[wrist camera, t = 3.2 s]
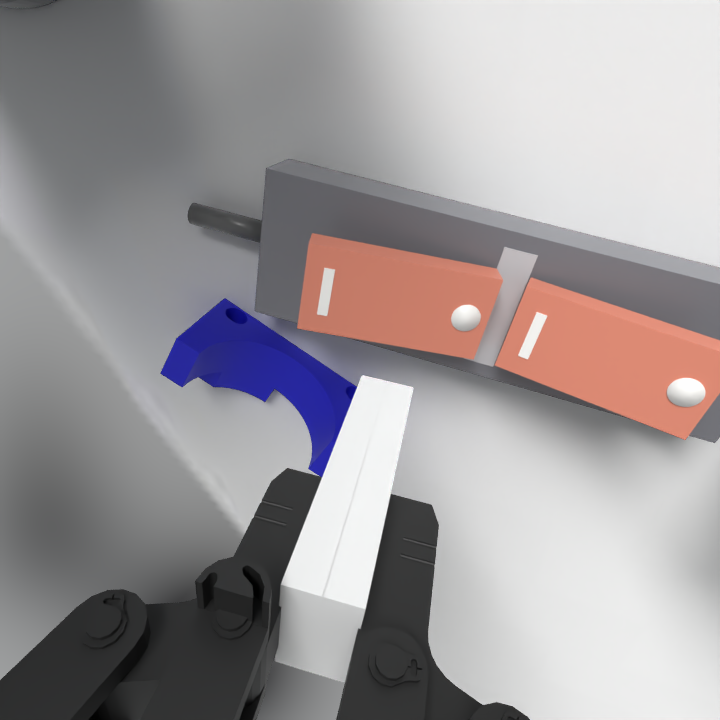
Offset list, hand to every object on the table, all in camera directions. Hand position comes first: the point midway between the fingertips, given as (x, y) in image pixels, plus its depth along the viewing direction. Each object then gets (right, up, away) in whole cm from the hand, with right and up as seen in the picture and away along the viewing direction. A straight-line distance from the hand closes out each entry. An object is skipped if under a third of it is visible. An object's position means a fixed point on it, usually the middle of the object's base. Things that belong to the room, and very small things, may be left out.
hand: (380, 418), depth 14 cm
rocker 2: (+11, +2, +9) cm, 14 cm away
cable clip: (-6, +1, +20) cm, 21 cm away
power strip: (+5, +6, +14) cm, 16 cm away
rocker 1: (+1, +5, +10) cm, 11 cm away
